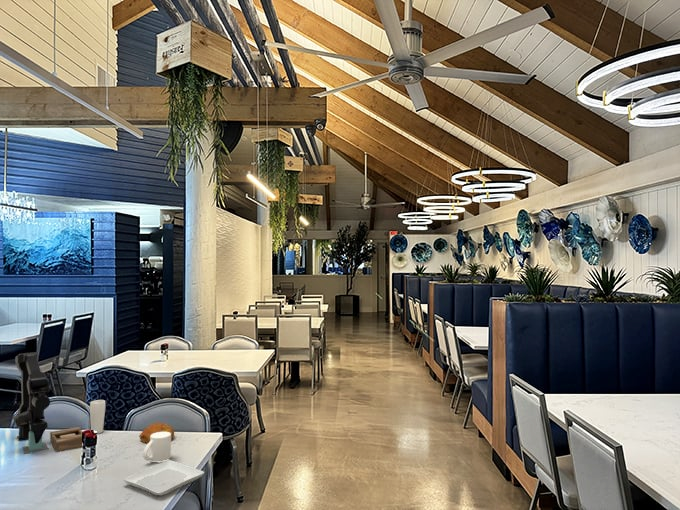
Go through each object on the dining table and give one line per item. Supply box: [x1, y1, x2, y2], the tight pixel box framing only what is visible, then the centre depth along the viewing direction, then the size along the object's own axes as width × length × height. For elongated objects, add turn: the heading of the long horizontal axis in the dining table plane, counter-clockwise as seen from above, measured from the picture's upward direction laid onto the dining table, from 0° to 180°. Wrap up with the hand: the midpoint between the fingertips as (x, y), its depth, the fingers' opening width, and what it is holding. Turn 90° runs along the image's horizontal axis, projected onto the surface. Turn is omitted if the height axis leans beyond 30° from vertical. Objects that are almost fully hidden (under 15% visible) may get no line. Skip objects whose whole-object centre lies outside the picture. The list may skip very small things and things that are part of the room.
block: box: [27, 431, 43, 450], centre depth 213 cm, size 4×4×7 cm
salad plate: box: [122, 459, 205, 496], centre depth 180 cm, size 21×21×3 cm
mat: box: [21, 442, 49, 455], centre depth 213 cm, size 9×9×1 cm
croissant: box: [138, 422, 175, 444], centre depth 227 cm, size 14×16×8 cm
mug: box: [142, 432, 172, 462], centre depth 201 cm, size 8×10×12 cm
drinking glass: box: [89, 399, 106, 435], centre depth 235 cm, size 7×7×15 cm
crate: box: [49, 426, 83, 453], centre depth 219 cm, size 16×12×5 cm
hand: (35, 440), depth 213 cm, fingers open, 8 cm apart
